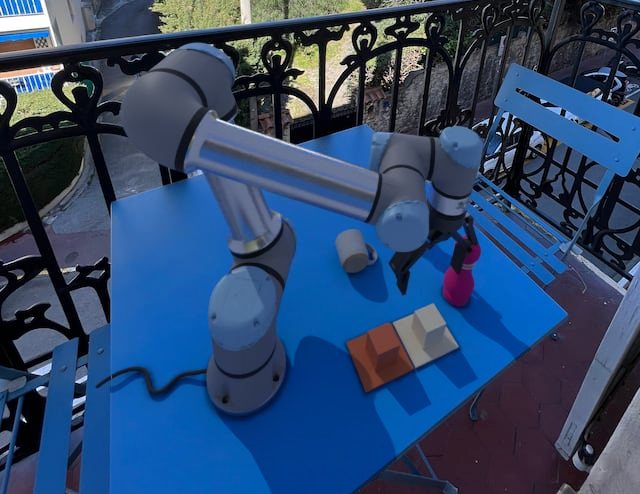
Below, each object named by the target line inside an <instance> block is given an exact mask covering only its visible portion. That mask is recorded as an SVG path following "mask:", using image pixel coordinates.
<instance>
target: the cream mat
mask: <svg viewBox="0 0 640 494" xmlns="http://www.w3.org/2000/svg"><path fill="white" fill-rule="evenodd" d="M413 317H414V313H412V314H409V315H408V316H404V317H403V318H400V319H397V320H395V321H393V322H392V326H393V328H394V330H396V331H395V332H396V334H397V336H398V338H399V340H400V342H401V344H402V346H403V348H404V350H405V352H406V354H407V355H408V357H409V359H410V361H411V363H412V365H413V367H414V369H418V368H421V367H422V366H425V365H426V364H428V363H431V362H432V361H434V360H437V359H439V358H440V357H441V358H442V356H445V355H447V354H448V353H451V352H454V351H455V350H457V349H459V347H460V346H459V344H458V343H457V341H456V340H455V338H454V336H453V335H452V333H451V331H450V330H449V328H448V326H446V328H445V332H444V335H443V339H442V341H441V342H439V343H437V344H435V345H432V346H430V347H428V348H426V349H424V350H423V349H422V347H421V345H420V343H419V342H418V340H417V338H416V336H415V334H414V332H413V331H412V329H411V326H412V321H413Z"/></svg>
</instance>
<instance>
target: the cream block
mask: <svg viewBox="0 0 640 494" xmlns="http://www.w3.org/2000/svg"><path fill="white" fill-rule="evenodd" d="M413 314H414V317H413V321H412V326H411V329H412V331H413V332H414V334H415V336H416V338H417V340H418V342H419V343H420V345H421V347H422V349H423V350H424V349H426V348H428V347H430V346H432V345H435V344H437V343H439V342H441V341H442V339H443V335H444V332H445V328H446V327H447V322H446V321H445V319H444V317H443V316H442V314H441V313H440V311H439V310H438V307H437V306H436V305H435V302H433V303H430V304H428V305H425V306H422V307H421V308H418V309H416V310H414V312H413Z"/></svg>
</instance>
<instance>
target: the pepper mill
mask: <svg viewBox="0 0 640 494" xmlns="http://www.w3.org/2000/svg"><path fill="white" fill-rule="evenodd" d="M461 236H462V237H463V238H464V239H466V238H467V237H466V235H461ZM456 243H458V242H457V241H455V242H454V245H453V246H454V247H453V249H454V248H455V244H456ZM471 248H472V249H473V252H472V253H471V254H469V253H467V256H466V258H465V259H464V262H463V266H462V269H461V273H460V274H458V275H457V274H456V272H455V271H454V269H453V268H452V267H451V266H450V267H449V268H448V269H447V270H446V272H445V273H444V276H443V289H442V294H443V297H444V299H445V300H446V302H447V303H449V304H450V305H452V306H454V307H459V308H461V307H464V306H465V305H467V304H468V303H469V299H470V297H471V296H472V294H473V292H474V290H475V279H474V276H473V269H474V268H475V267H476V264H477V261H479V260H480V258H481V256H482V247H481V244H480V243H479V242H478V245H477V246H473V245H472V246H471Z"/></svg>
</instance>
